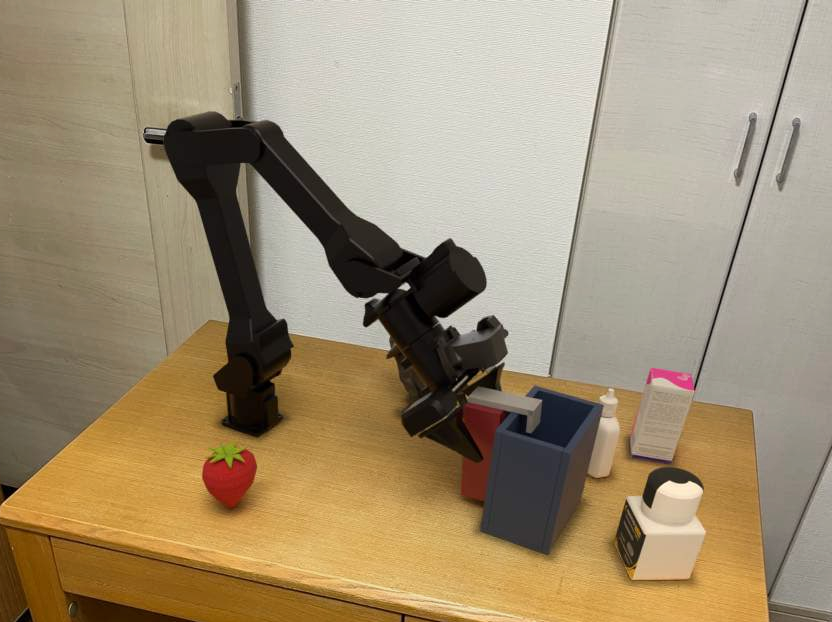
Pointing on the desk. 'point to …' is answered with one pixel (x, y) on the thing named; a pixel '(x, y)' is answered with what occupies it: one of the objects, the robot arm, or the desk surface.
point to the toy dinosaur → (414, 379)
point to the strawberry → (229, 473)
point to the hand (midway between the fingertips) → (495, 443)
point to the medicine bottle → (662, 527)
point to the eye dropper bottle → (605, 437)
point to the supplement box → (661, 415)
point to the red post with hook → (491, 431)
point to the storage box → (540, 470)
